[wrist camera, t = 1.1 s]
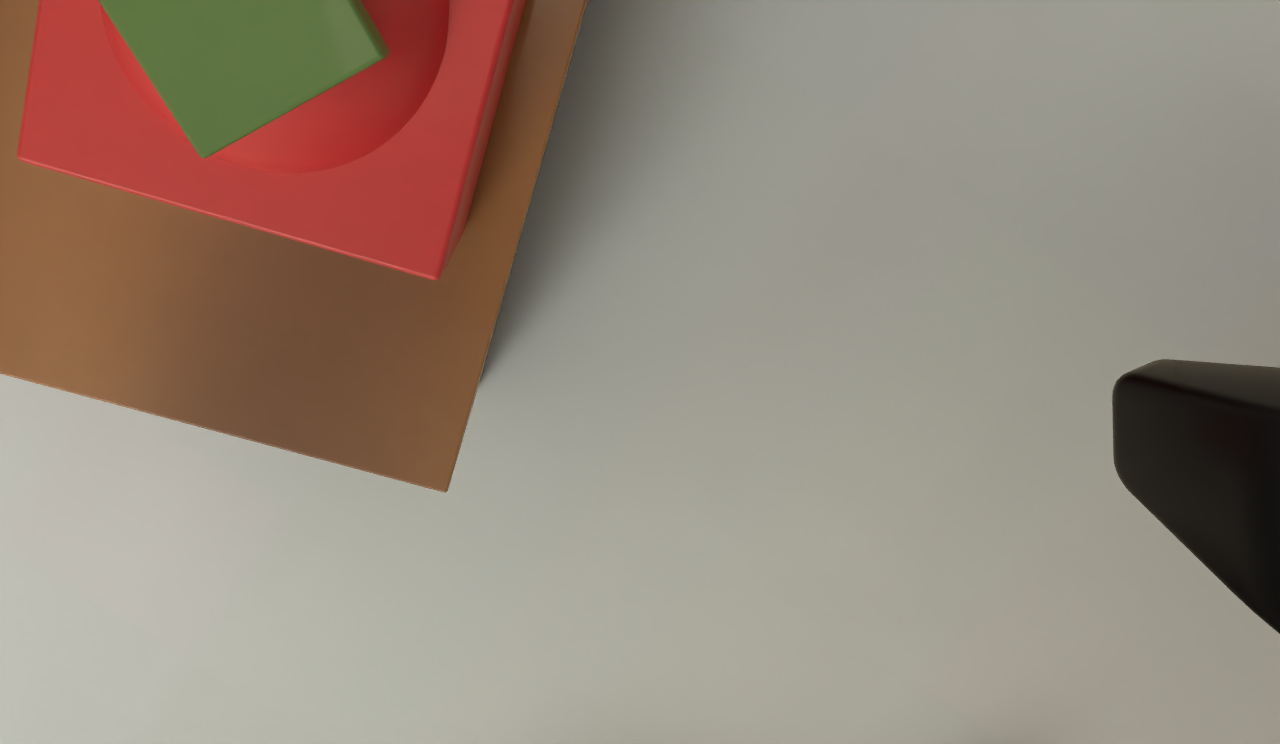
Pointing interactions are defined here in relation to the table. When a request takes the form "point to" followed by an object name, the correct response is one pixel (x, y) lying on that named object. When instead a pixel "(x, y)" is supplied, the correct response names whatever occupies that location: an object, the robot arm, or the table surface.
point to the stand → (268, 292)
